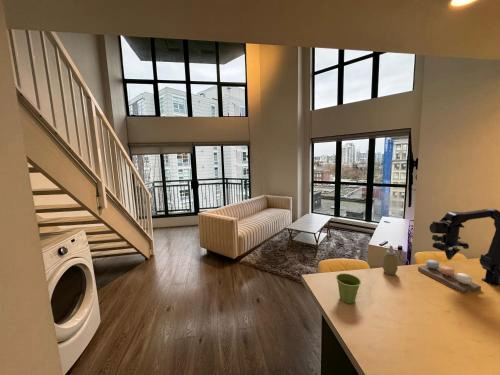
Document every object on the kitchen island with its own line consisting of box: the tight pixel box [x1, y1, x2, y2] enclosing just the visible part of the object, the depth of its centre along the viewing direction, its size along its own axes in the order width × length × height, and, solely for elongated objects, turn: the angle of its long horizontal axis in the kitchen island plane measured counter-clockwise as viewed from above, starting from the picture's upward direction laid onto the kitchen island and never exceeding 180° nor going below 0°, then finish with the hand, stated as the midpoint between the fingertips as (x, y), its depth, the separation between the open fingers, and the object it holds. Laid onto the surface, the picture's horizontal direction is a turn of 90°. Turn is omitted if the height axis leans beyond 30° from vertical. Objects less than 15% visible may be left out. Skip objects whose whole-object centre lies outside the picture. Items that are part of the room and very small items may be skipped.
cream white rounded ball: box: [456, 272, 473, 285], centre depth 117 cm, size 6×6×6 cm
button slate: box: [425, 259, 440, 270], centre depth 134 cm, size 6×6×6 cm
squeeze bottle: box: [382, 245, 399, 276], centre depth 134 cm, size 8×8×18 cm
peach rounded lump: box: [440, 265, 456, 277], centre depth 125 cm, size 6×6×6 cm
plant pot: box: [335, 272, 362, 304], centre depth 110 cm, size 12×12×11 cm
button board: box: [417, 265, 482, 294], centre depth 126 cm, size 12×25×2 cm, turn 11°
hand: (448, 259), depth 125 cm, fingers closed
